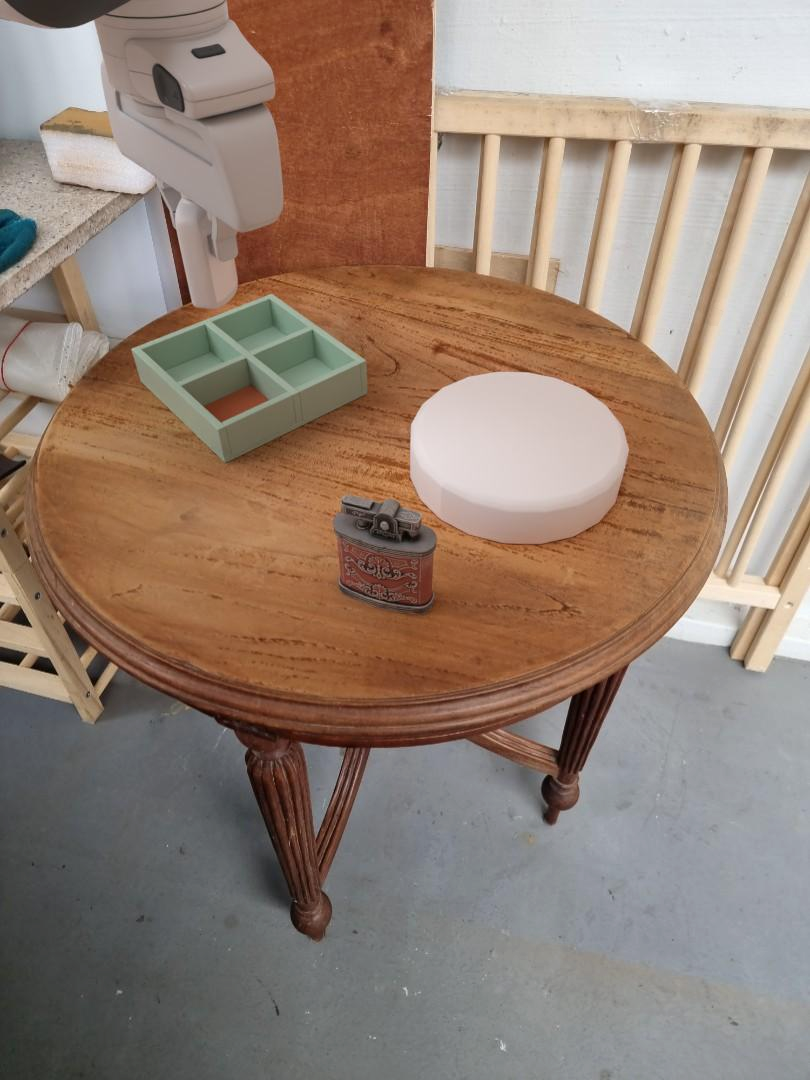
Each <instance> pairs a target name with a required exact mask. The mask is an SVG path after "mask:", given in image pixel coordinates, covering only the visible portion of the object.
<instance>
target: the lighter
mask: <svg viewBox="0 0 810 1080" xmlns="http://www.w3.org/2000/svg"><path fill="white" fill-rule="evenodd" d="M339 503H340V511H339V512H337V513H336V514H335V516H334V517H333V519H332V520H333V521H332V522H333V532H334V535H335V537H336V541H337V552H338V564H339V574H338V588H339V590H340V592H341V594H343V595H345V596H347V597H349V598H351V599H354V600H356V601H357V602H360V603H362V604H365V605H368V606H371V607H374V608H377V609H380V610H384V611H389V612H395V613H400V614H401V613H402V614H409V615H424V614H426V613H428V612H429V611H431V609H432V607H433V606H434V602H435V592H434V589H433V580H434V579H433V578H434V557H435V555H434V554H435V551H436V548H437V541H438V538H437V533H436V532H435V530H434V529H432V528H431V527H429V526H427V525H424V524H423V523H422V513H421V512H420V511H416V510H413V509H409V508H406V507H405V508H404V507H403V505H401V503H400V502H399V501H397V500H396V499H392V498H386V499H385V500H384V501H382V502H379V501H375V500H374V499H370V498H366V497H361V496H358V495H354V494H345V495H343V496H342V497H341V499H340V502H339Z"/></svg>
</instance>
